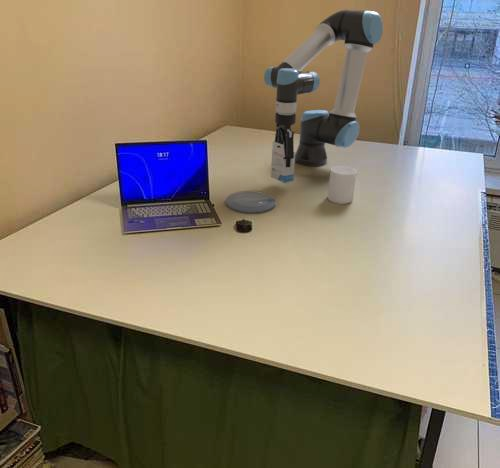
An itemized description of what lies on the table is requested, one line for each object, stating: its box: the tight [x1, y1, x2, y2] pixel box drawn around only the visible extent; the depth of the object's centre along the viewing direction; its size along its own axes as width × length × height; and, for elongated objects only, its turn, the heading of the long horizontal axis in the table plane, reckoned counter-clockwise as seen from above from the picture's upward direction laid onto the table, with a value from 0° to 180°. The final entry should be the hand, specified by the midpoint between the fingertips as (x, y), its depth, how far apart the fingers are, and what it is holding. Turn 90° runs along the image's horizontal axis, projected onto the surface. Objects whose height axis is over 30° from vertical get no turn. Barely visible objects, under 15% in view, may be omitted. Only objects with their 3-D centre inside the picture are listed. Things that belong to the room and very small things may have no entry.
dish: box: [225, 190, 276, 215], centre depth 176 cm, size 18×18×1 cm
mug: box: [327, 165, 357, 205], centre depth 181 cm, size 10×12×12 cm
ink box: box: [270, 140, 296, 184], centre depth 187 cm, size 8×5×15 cm, turn 39°
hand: (282, 170), depth 189 cm, fingers closed on ink box, 9 cm apart
